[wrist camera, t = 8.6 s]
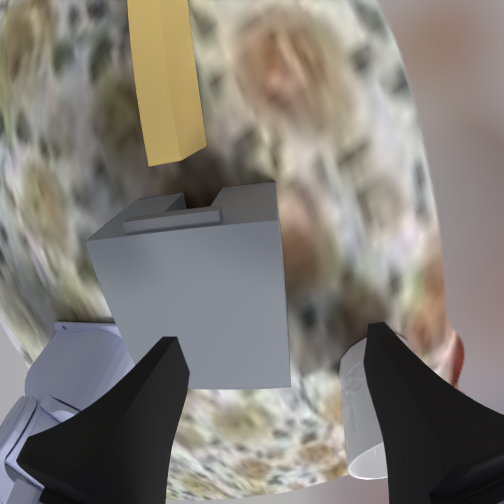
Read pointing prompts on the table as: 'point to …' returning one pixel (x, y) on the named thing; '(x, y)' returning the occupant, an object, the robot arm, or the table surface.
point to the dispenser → (201, 284)
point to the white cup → (361, 417)
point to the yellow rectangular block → (166, 79)
